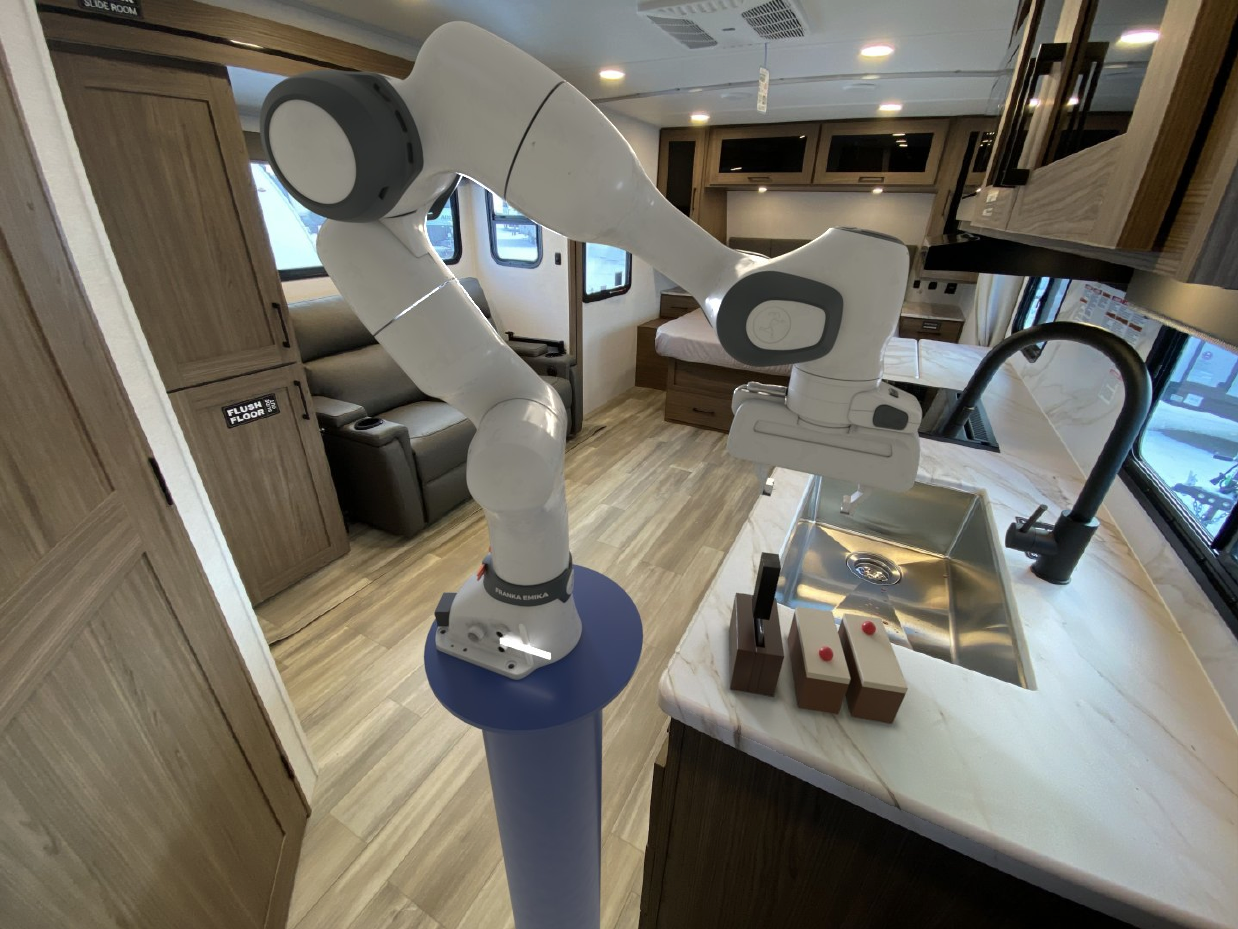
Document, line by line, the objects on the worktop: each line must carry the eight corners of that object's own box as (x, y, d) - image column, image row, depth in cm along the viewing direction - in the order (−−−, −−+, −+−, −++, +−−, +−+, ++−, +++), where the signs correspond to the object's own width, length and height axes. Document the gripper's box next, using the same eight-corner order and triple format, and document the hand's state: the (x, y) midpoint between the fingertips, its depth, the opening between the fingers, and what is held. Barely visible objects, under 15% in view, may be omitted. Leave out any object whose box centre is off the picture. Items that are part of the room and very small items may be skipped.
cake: (797, 707, 66) (810, 664, 62) (787, 639, 77) (797, 598, 73) (892, 724, 64) (912, 680, 61) (868, 652, 75) (884, 610, 71)
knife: (743, 683, 70) (764, 579, 61) (741, 639, 77) (760, 540, 68) (759, 685, 69) (783, 581, 60) (755, 642, 76) (776, 542, 67)
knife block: (729, 689, 69) (737, 649, 65) (728, 630, 78) (735, 592, 74) (774, 697, 68) (784, 656, 64) (767, 636, 77) (776, 598, 73)
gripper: (728, 387, 54) (713, 494, 61) (940, 421, 47) (897, 539, 53) (741, 372, 59) (726, 472, 66) (933, 401, 52) (895, 510, 58)
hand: (804, 502), depth 60 cm, fingers open, 8 cm apart
